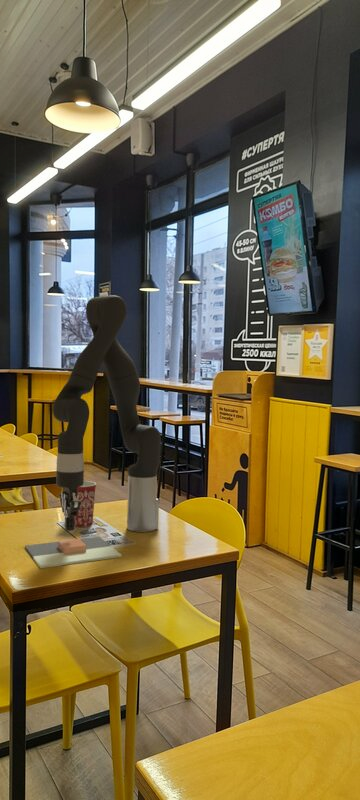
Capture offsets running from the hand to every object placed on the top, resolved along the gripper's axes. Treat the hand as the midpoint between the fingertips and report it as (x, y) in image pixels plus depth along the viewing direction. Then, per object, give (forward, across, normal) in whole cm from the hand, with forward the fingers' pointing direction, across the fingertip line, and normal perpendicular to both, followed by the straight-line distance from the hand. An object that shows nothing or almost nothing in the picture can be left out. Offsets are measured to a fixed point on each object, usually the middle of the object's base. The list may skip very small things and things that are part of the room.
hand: (69, 529), depth 157 cm
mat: (+6, -3, 0) cm, 6 cm away
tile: (+4, -2, 0) cm, 5 cm away
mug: (+6, +25, -11) cm, 28 cm away
